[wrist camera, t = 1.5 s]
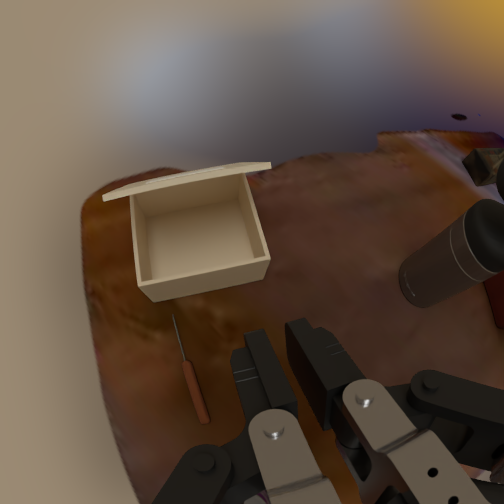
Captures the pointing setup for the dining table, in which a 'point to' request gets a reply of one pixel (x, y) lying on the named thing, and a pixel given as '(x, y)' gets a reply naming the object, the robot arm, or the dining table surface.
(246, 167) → the box lid
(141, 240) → the cardboard box
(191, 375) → the screwdriver
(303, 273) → the dining table surface
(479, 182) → the dark brown block
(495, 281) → the plant pot
